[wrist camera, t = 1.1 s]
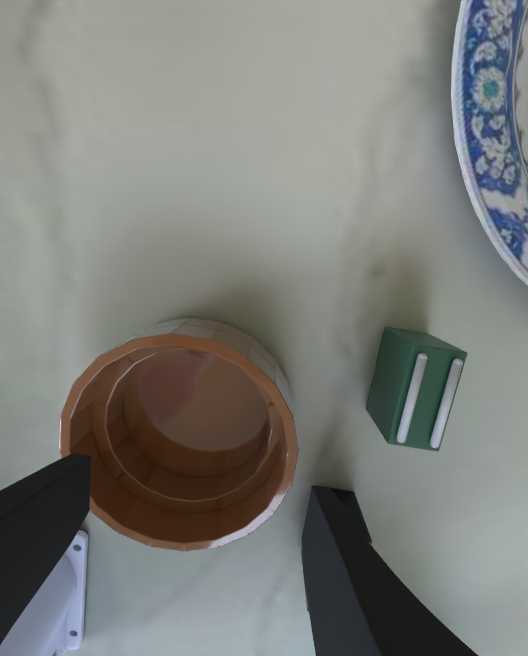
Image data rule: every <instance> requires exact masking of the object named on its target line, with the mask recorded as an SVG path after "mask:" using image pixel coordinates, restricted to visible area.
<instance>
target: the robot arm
mask: <svg viewBox="0 0 528 656" xmlns="http://www.w3.org/2000/svg"><path fill="white" fill-rule="evenodd" d="M91 457H92V456H90V455H83V454H76V453H72V454H70V455H68V456H66V457H64V458H62V459H60V460H58V461H56V462H54V463H52V464H50V465H48V466H46V467H44V468H42V469H41V470H39V471H37V472H35V473H33V474H31V475H29V476H27V477H25V478H24V479H22V480H20V481H18V482H16V483H14V484H12V485H10V486H8V487H6V488H4V489H2V490H0V656H61V654H62V652H63V650H64V649H72V650H75V649H78V648H79V647H80V646H81V644H82V641H83V629H84V609H85V590H86V570H87V550H88V535H87V534H86V533H85V532H84V531H81V530H79V529H80V527H81V525H82V523H83V521H84V520H85V518H86V516H87V514H88V512H89V510H90V484H91ZM79 545H80V546H79ZM302 556H303V574H304V581H305V587H306V594H307V601H308V607H309V614H310V620H311V627H312V633H313V640H314V646H315V652H316V656H478V655H477V654H476V653H475V652H473V651H472V650H471V649H470V648H469V647H468V646H467V645H465V644H464V643H463V642H462V641H461V640H460V639H459V638H458V637H457V636H455V635H454V634H453V633H452V632H451V631H450V630H449V629H448V628H447V627H446V626H445V625H444V624H443V623H442V622H441V621H439V620H438V619H437V618H436V617H435V616H434V615H433V614H432V613H431V612H430V611H429V610H428V609H427V608H426V607H425V606H424V605H423V604H422V603H421V602H420V601H419V600H418V599H417V598H416V597H415V595H414V594H413V593H412V592H411V591H410V590H409V589H408V588H407V587H406V586H405V585H404V584H403V583H402V582H401V581H400V579H399V578H398V577H397V576H396V575H395V574H394V573H393V571H392V570H391V569H390V568H389V567H388V565H387V564H386V563H385V562H384V561H383V559H382V558H381V557H380V556H379V555H378V553H377V552H376V551H375V550H374V548H373V547H372V546H371V544H370V543H369V542H368V540H367V539H366V538H365V536H364V535H363V534H362V532H361V531H360V530H359V528H358V527H357V525H356V524H355V523H354V521H353V520H352V518H351V517H350V515H349V514H348V513H347V511H346V510H345V508H344V507H343V505H342V504H341V502H340V501H339V499H338V498H337V496H336V495H335V494H334V492H333V491H332V489H331V488H326V487H319V486H312V489H311V494H310V499H309V504H308V509H307V514H306V520H305V525H304V530H303V535H302Z"/></svg>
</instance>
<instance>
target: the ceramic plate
mask: <svg viewBox="0 0 528 656" xmlns="http://www.w3.org/2000/svg"><path fill="white" fill-rule="evenodd" d="M451 102H452V115H453V128H454V141H455V146H456V150H457V154H458V158H459V162H460V166H461V171H462V175H463V179H464V183H465V186H466V189H467V192H468V194H469V197H470V200H471V202H472V205H473V208H474V210H475V212H476V214H477V216H478V218H479V220H480V222H481V224H482V226H483V228H484V230H485V232H486V234H487V236H488V237H489V239H490V240H491V242H492V244H493V245H494V247H495V248H496V250H497V251H498V253H499V254H500V256H501V257H502V258H503V260H504V261H505V262H506V263H507V264H508V266H509V267H510V268H511V269H512V271H513V272H514V273H515V274H516V275H517V276H518V277H519V278H520V279H521V280H522V281H523V282H524V283H525V284H526V285H527V286H528V0H461V5H460V10H459V15H458V20H457V25H456V31H455V40H454V48H453V57H452V77H451Z"/></svg>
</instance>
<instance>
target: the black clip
mask: <svg viewBox="0 0 528 656" xmlns="http://www.w3.org/2000/svg"><path fill="white" fill-rule="evenodd" d="M331 489H332V488H331ZM332 491H333V492H334V494H335V495H336V496H337V498H338V499H339V501H340V502H341V504H342V505H343V507H344V508H345V510H346V511H347V513H348V514H349V515H350V517H351V518H352V520H353V521H354V523H355V524H356V525H357V527H358V528H359V530H360V531H361V532H362V534H363V535H364V536H365V538H366V539H367V540H368V542H369V543H370V544H372V540H371V537H370V535H369V532H368V529H367V526H366V523H365V521H364V518H363V515H362V512H361V509H360V507H359V504H358V501H357V498H356V496H355V493H354V492H353V491H346V490H339V489H332ZM301 555H302V550H301ZM302 564H303V556H302ZM304 583H305V581H304ZM305 593H306V587H305ZM306 602H307V610H308V612H309V607H308V601H307V594H306Z"/></svg>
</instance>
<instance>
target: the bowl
mask: <svg viewBox="0 0 528 656" xmlns="http://www.w3.org/2000/svg"><path fill="white" fill-rule="evenodd" d="M59 449H60V453H61V457H62V458H64V457H66V456H68V455H70V454H72V453H76V454H83V455H90V456H92V457H91V484H90V510H91V512H92V513H93V514H94V515H96V516H97V517H98V518H100V519H101V520H102V521H103V522H105V523H106V524H107V525H108V526H110V527H111V528H112V529H113V530H115V531H116V532H118V533H119V534H122V535H124V536H126V537H129V538H131V539H133V540H136V541H138V542H141V543H143V544H145V545H148V546H151V547H157V548H164V549H171V550H178V551H192V550H200V549H208V548H216V547H221V546H223V545H225V544H228V543H230V542H232V541H235V540H237V539H239V538H242V537H244V536H246V535H249V534H250V533H252V532H253V531H254V530H255V529H256V528H258V527H259V526H260V525H261V524H262V523H263V522H265V521H266V520H267V519H268V518H269V517H270V516H272V515H273V514H274V513H275V512H276V510H277V509H278V507H279V505H280V504H281V502H282V500H283V498H284V497H285V495H286V493H287V492H288V490H289V488H290V487H291V485H292V483H293V478H294V473H295V467H296V462H297V457H298V450H299V449H298V442H297V436H296V429H295V422H294V416H293V409H292V403H291V396H290V390H289V385H288V382H287V380H286V378H285V376H284V375H283V373H282V371H281V369H280V367H279V365H278V363H277V361H276V359H275V358H274V357H273V356H272V355H271V354H270V353H269V352H268V351H267V350H266V349H265V348H264V347H263V346H262V345H261V344H260V343H259V342H258V341H257V340H256V339H254V338H253V337H252V336H251V335H249V334H247V333H245V332H243V331H241V330H239V329H237V328H235V327H233V326H231V325H229V324H227V323H225V322H220V321H214V320H207V319H201V318H194V317H192V318H191V317H189V318H183V319H176V320H170V321H164V322H160V323H158V324H156V325H154V326H152V327H150V328H148V329H146V330H144V331H142V332H140V333H138V334H137V335H135V336H133V337H131V338H129V339H128V340H126V341H124V342H123V343H121V344H119V345H117V346H116V347H114V348H112V349H111V350H109V351H107V352H105V353H104V354H102V355H100V356H99V357H97V358H96V359H95V361H94V362H93V363H92V364H91V365H90V366H89V367H88V368H87V369H86V370H85V371H84V372H83V374H82V375H81V376H80V377H79V378H78V379H77V380H76V381H75V382H74V384H73V386H72V388H71V391H70V393H69V396H68V398H67V401H66V403H65V406H64V408H63V411H62V413H61V417H60V447H59Z"/></svg>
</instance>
